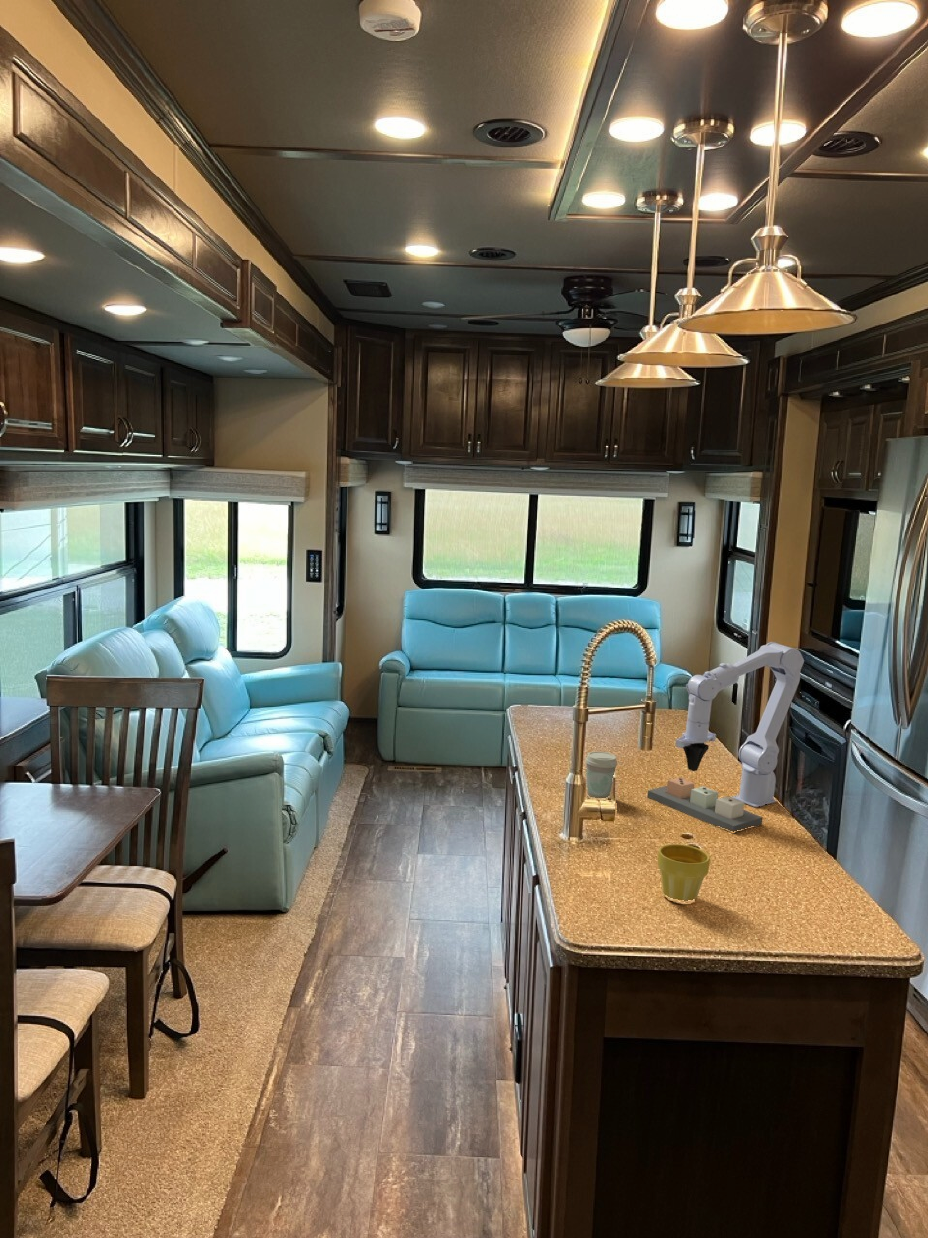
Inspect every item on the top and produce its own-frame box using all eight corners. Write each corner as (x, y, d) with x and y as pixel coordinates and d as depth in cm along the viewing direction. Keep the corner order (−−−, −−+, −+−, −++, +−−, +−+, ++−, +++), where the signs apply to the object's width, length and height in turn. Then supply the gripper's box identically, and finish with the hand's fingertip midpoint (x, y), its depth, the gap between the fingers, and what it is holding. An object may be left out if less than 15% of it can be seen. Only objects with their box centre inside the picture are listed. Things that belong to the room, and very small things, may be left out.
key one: (726, 810, 236) (728, 795, 235) (742, 817, 232) (744, 801, 231) (714, 814, 233) (716, 798, 232) (730, 820, 229) (732, 804, 228)
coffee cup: (577, 799, 241) (581, 756, 239) (588, 790, 249) (592, 748, 247) (607, 806, 237) (612, 763, 235) (618, 797, 245) (622, 754, 243)
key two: (701, 800, 242) (703, 785, 242) (717, 806, 238) (718, 791, 238) (689, 803, 239) (691, 788, 239) (705, 810, 235) (706, 794, 235)
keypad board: (676, 790, 254) (676, 783, 253) (761, 824, 232) (762, 817, 231) (647, 797, 246) (648, 790, 246) (733, 833, 224) (734, 826, 224)
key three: (678, 791, 248) (679, 776, 248) (692, 797, 245) (694, 782, 244) (666, 794, 245) (667, 779, 245) (680, 800, 242) (682, 785, 241)
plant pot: (668, 881, 195) (672, 838, 193) (713, 898, 189) (718, 854, 187) (645, 897, 187) (649, 852, 185) (691, 914, 181) (696, 869, 179)
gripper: (702, 713, 246) (697, 761, 249) (668, 720, 237) (663, 769, 240) (724, 720, 241) (718, 769, 243) (690, 727, 232) (684, 777, 234)
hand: (692, 769), depth 241 cm, fingers closed
